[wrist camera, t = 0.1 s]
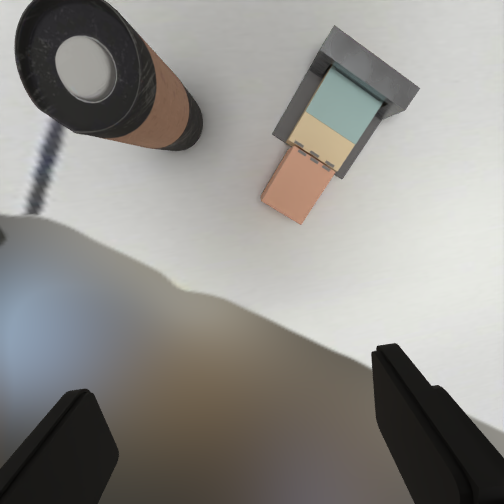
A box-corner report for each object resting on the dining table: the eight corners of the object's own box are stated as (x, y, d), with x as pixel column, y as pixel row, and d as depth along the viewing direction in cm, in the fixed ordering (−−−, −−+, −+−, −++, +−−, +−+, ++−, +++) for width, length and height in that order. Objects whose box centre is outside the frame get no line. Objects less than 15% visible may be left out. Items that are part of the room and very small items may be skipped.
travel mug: (197, 81, 34) (119, -33, 14) (211, 146, 36) (159, 122, 17) (138, 94, 34) (-13, 0, 15) (155, 158, 36) (43, 146, 17)
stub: (288, 149, 36) (294, 145, 30) (323, 171, 36) (335, 172, 30) (260, 196, 37) (261, 201, 32) (294, 216, 38) (301, 225, 32)
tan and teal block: (335, 56, 32) (344, 43, 29) (382, 90, 33) (396, 81, 30) (285, 142, 35) (288, 139, 32) (330, 171, 36) (337, 171, 33)
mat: (325, 39, 32) (326, 38, 32) (399, 92, 34) (400, 91, 33) (272, 134, 35) (272, 134, 35) (341, 179, 37) (342, 179, 36)
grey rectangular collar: (320, 49, 32) (334, 25, 27) (393, 101, 34) (420, 88, 28) (309, 69, 33) (320, 50, 27) (380, 119, 34) (404, 110, 29)
